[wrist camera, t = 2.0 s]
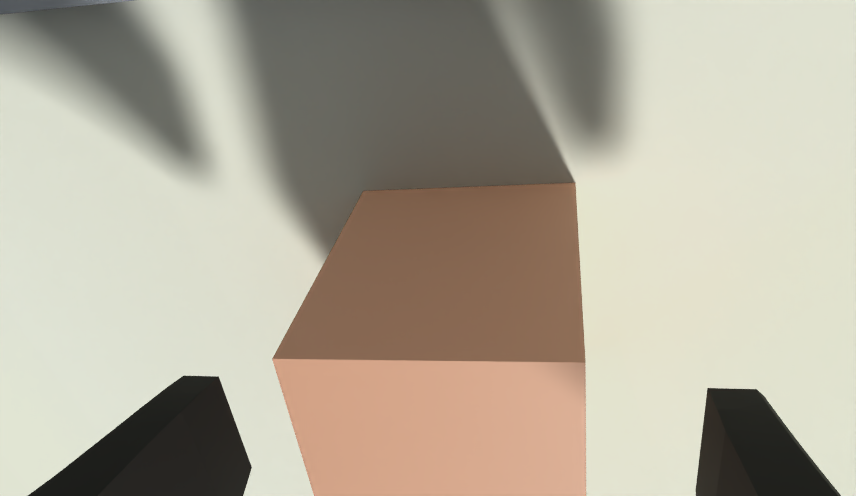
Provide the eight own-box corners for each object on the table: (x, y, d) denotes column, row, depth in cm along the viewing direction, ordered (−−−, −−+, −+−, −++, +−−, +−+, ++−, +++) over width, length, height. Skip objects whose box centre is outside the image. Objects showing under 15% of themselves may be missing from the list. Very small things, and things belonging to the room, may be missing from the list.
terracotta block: (393, 350, 15) (331, 551, 11) (363, 190, 13) (272, 358, 9) (577, 352, 14) (586, 569, 10) (575, 181, 12) (584, 362, 8)
